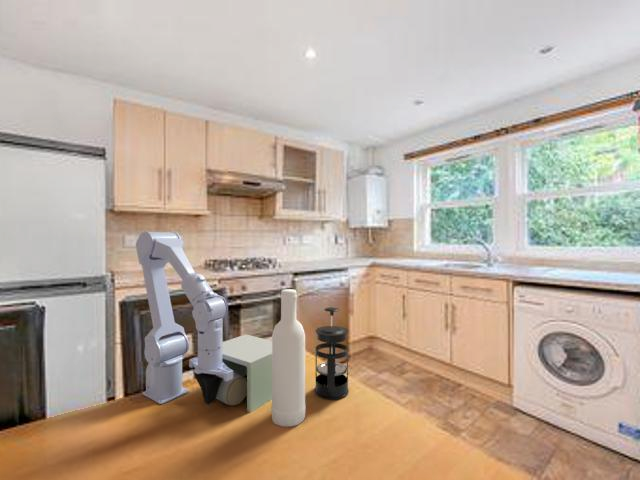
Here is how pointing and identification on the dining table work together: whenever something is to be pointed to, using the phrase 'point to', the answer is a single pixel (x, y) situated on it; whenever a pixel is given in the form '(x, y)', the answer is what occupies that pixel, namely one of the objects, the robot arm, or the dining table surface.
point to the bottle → (288, 365)
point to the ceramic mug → (233, 390)
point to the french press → (331, 362)
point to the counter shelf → (251, 366)
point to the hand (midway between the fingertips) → (210, 402)
